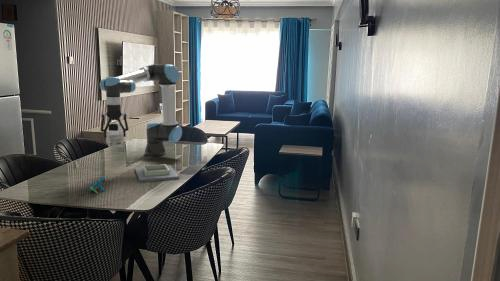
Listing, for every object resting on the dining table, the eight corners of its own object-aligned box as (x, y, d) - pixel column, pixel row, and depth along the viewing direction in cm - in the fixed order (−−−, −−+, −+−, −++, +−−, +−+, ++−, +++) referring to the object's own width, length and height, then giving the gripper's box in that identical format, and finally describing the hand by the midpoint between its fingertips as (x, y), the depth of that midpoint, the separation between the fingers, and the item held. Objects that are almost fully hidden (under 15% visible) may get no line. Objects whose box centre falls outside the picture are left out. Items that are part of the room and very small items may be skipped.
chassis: (134, 169, 235) (134, 163, 235) (170, 167, 244) (170, 161, 243) (139, 182, 212) (139, 175, 211) (179, 178, 220) (179, 172, 220)
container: (109, 147, 219) (108, 125, 217) (107, 144, 226) (106, 123, 223) (123, 146, 223) (122, 124, 220) (121, 143, 230) (120, 122, 227)
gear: (96, 183, 202) (106, 172, 198) (104, 191, 202) (114, 180, 199) (83, 193, 192) (93, 181, 188) (91, 201, 192) (102, 190, 188)
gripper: (94, 105, 212) (96, 145, 217) (133, 104, 220) (134, 142, 225) (94, 103, 219) (96, 142, 223) (131, 103, 227) (132, 140, 231)
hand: (115, 142), depth 224 cm, fingers closed on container, 8 cm apart
